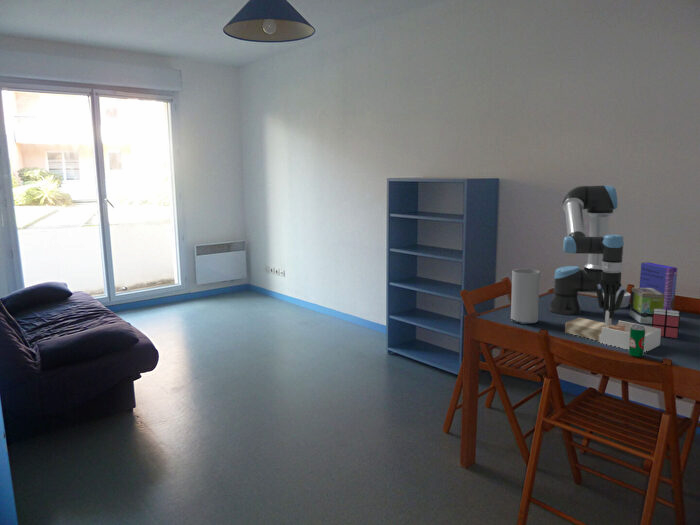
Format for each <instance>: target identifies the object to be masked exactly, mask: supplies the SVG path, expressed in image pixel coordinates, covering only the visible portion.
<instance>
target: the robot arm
mask: <svg viewBox="0 0 700 525" xmlns="http://www.w3.org/2000/svg"><path fill="white" fill-rule="evenodd" d="M561 205H562V210H563V212H564V214H565V223H566V225H565V226H566V233H567V236H564V238H563V244H562V245H563V252H564V253H566V254H573V255H574V254H583V255H584V254H586V255H587V262H586V264H584V266H583V269H581V268H580V266H577V265H576V266H575V265H567V266H561V267H558V268H556V269H555V270H554V284H553V286H554V287H553V297H552V299H551V302H550V304H549V311H550V312H551V313H555V314H558V315H559V314H560V315H578V314H581V312H582V306H581V303H580V300H579V293H593V294H594V293H595V294H596V296H597V301H598V302H597V303H598V307H599V308H600V309H602V310H603V315H602V316H603V317H604V323H605V325H606V326H610V325H611V324H612V320H613V319H614V317H615V312H616V311H619V310H620V309H621V308H620V305H621V302H622V299H623V296H624V294H625V293H626V292H628V290H627V289H626V288H624V287H623V285H622V283H621V282H622V271H623V253H624V252H623V251H624V244H625V243H624V236H623V235H621V234H609V230H610V216H612V215H614V214H613V213H614V211H615V210H617V208H618V193H617V189H616V188H615V187H614V186H613V185H605V184H603V185H580V186H576V187H574V188H573V189H571V190H569V191H568V192H567V193H566V195H564V198H563V200H562V204H561ZM583 210H587V212H586V214H588V215H589V234H588V235H589V236H586V235H587V234H586V228H585V222H584V221H585V220H584V215H583ZM617 291H619V292H620V293H619V295H618V298H617V301H616V304H615V300H616V293H617ZM603 293H604V295H603ZM609 297H610V307H609Z"/></svg>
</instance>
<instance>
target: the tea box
mask: <svg viewBox="0 0 700 525" xmlns="http://www.w3.org/2000/svg"><path fill="white" fill-rule="evenodd" d="M630 294H631V297H630V308H629V316H630V317H632V318H633V319H634V320H635V321H636V322H638V323H639V324H642V325H645V324H646V325H652V317H653V309H662V310H663V308H664V298H665V294H663V293H661V292H659V291H657V290H655V289H653V288H639V287H631V293H630Z"/></svg>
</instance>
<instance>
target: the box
mask: <svg viewBox="0 0 700 525" xmlns="http://www.w3.org/2000/svg"><path fill="white" fill-rule="evenodd" d="M617 324H620V325H625V332H623V331H619V330H614V329H610V328H605V327H602V331H601V334H600V335H599V341H598V343H599V342H600V343H599V344H602V343H603V344H602V345H606V344H607V345H606V346H610V345H612V346H611V347H614V346H616V347H615V348H618V347H620V348H619V349H622V348H623V350H626V349H628V350H627V351H629V341H630V328H631V327H632V325H642V326H644V328H645V341H644V352H645V353H647V352H649V351H651V350H653V349H655V348H657V347H660V345H661V338H662V337H661V329H659V328H654V327H652V326H650V325H649V326H648V325H645V324H641V323H639V324H638V323H636V322H635V323H634V322H629V321H623V320H618V322H617ZM646 351H647V352H646Z"/></svg>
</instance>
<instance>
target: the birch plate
mask: <svg viewBox="0 0 700 525" xmlns="http://www.w3.org/2000/svg"><path fill="white" fill-rule="evenodd" d="M614 325H615V324H612V323H611V325H610V326H606V325H605V322H602V321H596V320H594V319H593V320H592V319H589V318H588V319H587V318H584V317H577V318H575V319H574V318H573V319H572V320H569V321H566V322H565V326H564V334H566V333H569V334H568V335H570V334H573V335H572V336H574V335H578V336H577V337H579V336H581V337H580V338H583V337H585V338H584V339H587V338H589V339H588V340H591V339H593V340H592V341H595V340H597V341H596V342H599V335H600V334H601V331H602V327H605V328H610V329H611V327H612V326H614Z"/></svg>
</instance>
